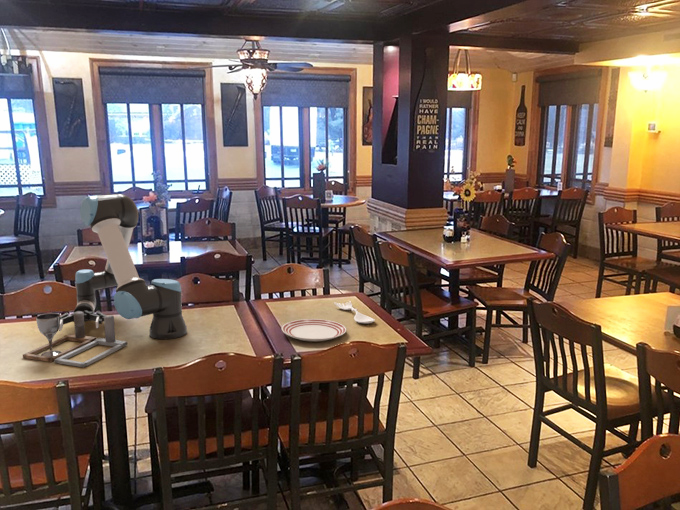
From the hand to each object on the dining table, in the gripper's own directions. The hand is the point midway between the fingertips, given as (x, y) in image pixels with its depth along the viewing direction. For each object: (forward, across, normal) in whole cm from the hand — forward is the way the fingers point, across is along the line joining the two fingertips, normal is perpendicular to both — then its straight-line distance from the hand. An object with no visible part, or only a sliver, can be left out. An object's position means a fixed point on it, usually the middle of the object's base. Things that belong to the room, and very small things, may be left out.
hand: (78, 326), depth 232 cm
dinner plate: (+14, -93, -8) cm, 95 cm away
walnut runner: (+6, +6, -7) cm, 11 cm away
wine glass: (+10, +9, -7) cm, 15 cm away
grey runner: (+14, -6, -7) cm, 17 cm away
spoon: (-6, -119, -8) cm, 119 cm away
